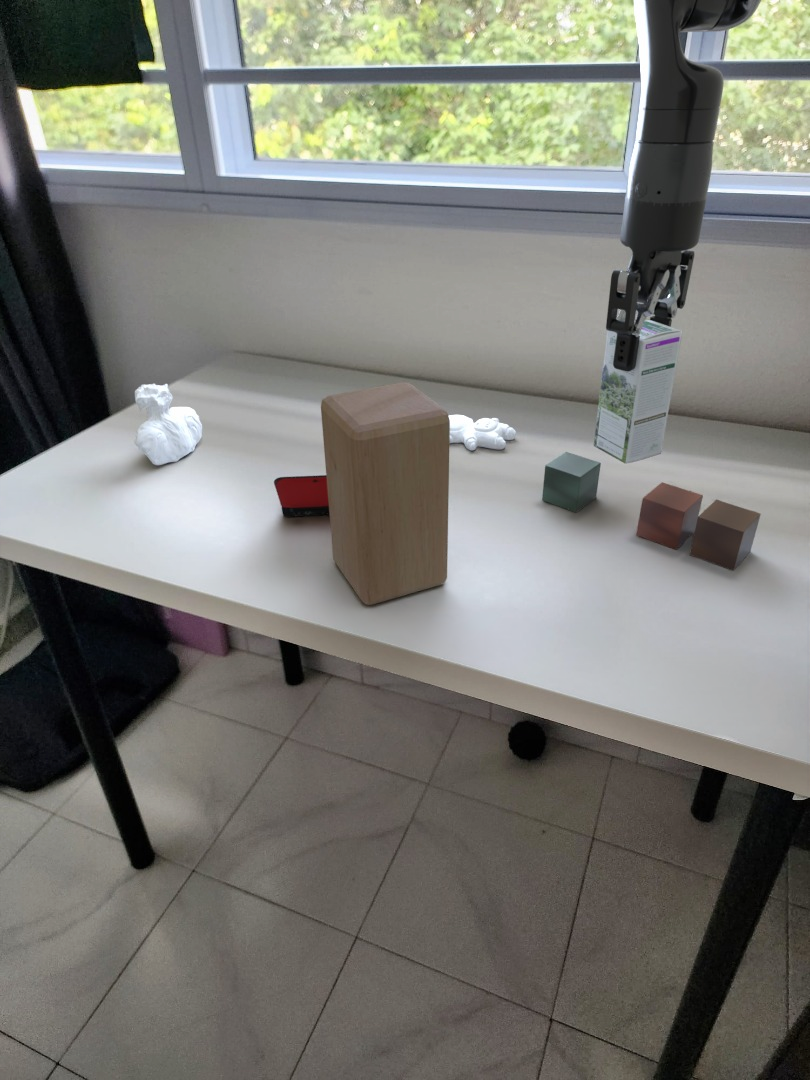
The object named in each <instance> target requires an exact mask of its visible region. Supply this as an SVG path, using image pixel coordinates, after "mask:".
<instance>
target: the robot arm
mask: <svg viewBox="0 0 810 1080" xmlns="http://www.w3.org/2000/svg"><path fill="white" fill-rule="evenodd" d="M761 2H762V0H633V8H634V17H635V23H636V31H637V38H638V47H639V61H640V81H641V82H640V83H641V86H640V87H641V89H640V90H641V91H640V101H639V111H638V120H637V125H636V132H635V133H636V134H635V141H634V147H633V150H632V155H631V159H630V163H629V166H628V167H629V168H628V172H627V173H628V174H627V181H626V189H625V195H624V196H625V197H624V205H623V213H622V220H621V227H620V228H621V229H620V235H619V241H620V243H621V245H623V246H624V247H627V248H629V249H630V250H631V251H632V253H631V257H630V261H629V263H628V266H627V269H626V270H620V269H614V270H613V271H612V273H611V276H610V285H609V295H608V303H607V304H608V305H607V314H606V322H605V329H606V331H607V330H608V331H613V332H615V333H617V339H616V346H615V353H614V361H613V366H614V368H616V369H619V370H623V371H627V372H629V371H631V370H633V369H634V368H635V366H636V359H637V352H638V346H639V339H640V336H639V335H640V332H641V330H642V327H643V324H644V322H645V319H647V317H649V320H652V321H655V322H658V323H661V324H664V325H667V326H669V327H672V323H673V319H674V318H675V317H677V314H678V309H680V310H681V309H683V308H684V307H685V304H686V300H687V296H688V295H687V294H688V290H689V285H690V278H691V275H692V270H693V265H694V259H695V251H693V250H691V249H693V248H695V247H696V246H697V245H698V243H699V242H700V236H701V231H702V225H703V219H704V214H705V208H706V203H707V197H708V192H709V186H710V182H711V177H712V176H711V175H712V168H713V153H714V144H715V143H714V141H715V138H716V137H715V136H716V132H717V126H718V120H719V116H720V110H721V104H722V98H723V93H724V82H725V79H724V75H723V73H722V72H721V70H719V69H718V68H717V67H714V66H711V65H708V64H704V63H701V62H695V61H693V60H691V59H688V58H687V57H686V56H685V54H684V51H683V48H682V44H681V39H680V33H709V32H710V33H712V32H713V33H714V32H715V33H717V32H725V31H729V30H731V29H734V28H737V27H739V26H741V25H742V24H745V22H747V21H748V20H749V19H751V17H752V16H753V15H754V14H755V12H756V11H757V9H758V7H759V6H760V4H761ZM618 310H619V312H618ZM635 319H636V320H635ZM634 322H635V323H634Z"/></svg>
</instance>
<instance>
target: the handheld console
mask: <svg viewBox="0 0 810 1080" xmlns="http://www.w3.org/2000/svg"><path fill="white" fill-rule="evenodd" d="M273 484H274V485H273V486H274V487H275V492H276V495H277V496H278V501H279V503H280V506H281V513H282V515H283V517H285V518H286V517H287V518H295V517H310V516H311V517H312V516H326V515H330V514H329V501H328V489H327V477H326V474H321V475H319V474H318V475H301V476H300V475H297V476H296V475H295V476H280V477H276V478H275V479H274V481H273Z"/></svg>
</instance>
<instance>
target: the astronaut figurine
mask: <svg viewBox="0 0 810 1080" xmlns="http://www.w3.org/2000/svg"><path fill="white" fill-rule="evenodd" d="M448 416H449V419H450V442H449V445H450V444H459V443H463V444H464V446H465V448H466V449H467V450H469V451H475V450H476V449H477V448H478V447H480V448H487V449H491V450H503V449H504V448H505V447H506V444H507V443H506V440H507V441H513V440H515V439H516V436H517V431H516V430H515V429H514V427H510V425H509V424H507V423H502V422H500V419H499V418H497V417H492V418H488V417H483V418H480V419H478V420H476V421H475V422H474V420H473V418H470V417H469V416H466V415H463V414H451V415H450V414H449V415H448Z"/></svg>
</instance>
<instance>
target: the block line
mask: <svg viewBox="0 0 810 1080" xmlns="http://www.w3.org/2000/svg"><path fill="white" fill-rule="evenodd" d="M601 465H602V463H601V462H600V461H596V460H593V459H590V458H586V457H584V456H581V455H578V454H575V453H572V452H569V451H565V452H563V453H562V454H560V455H558V456H557V457H556V458H554V459H552V460H551V461H549V462H548V463H546V464H545V466H544V475H543V485H542V486H543V487H542V495H541V496H542V497H541V500H542V501H544V502H546V503H549V504H552V505H554V506H557V507H560V508H562V509H565V510H567V511H571V512H574V513H578V512H579V511H580V510H582V509H583V508H584V507H586V506H587V505H588V504H590V503H591V502H592V501H594V500H595V499H596V498H597V494H598V487H599V481H600V480H599V479H600V472H601ZM703 495H704V494H701V493H696V492H694V491H691V490H688V489H685V488H681V487H679V486H675V485H673V484H669V483H667V482H663V481H662V482H660V483H659V484H658V485H656V487H654V488H653V489H652V490H651V491H649V492H648V493H647V494H646V495H645V496H643V497H642V500H641V506H640V513H639V516H638V523H637V528H636V533H635V535H636V536H637V537H641V538H643V539H646V540H649V541H652V542H654V543H658V544H660V545H661V546H665V547H667V548H671V549H672V550H676V551H677V550H679V548H680V547H681V546H682V545H683V544H684V543H685V542H687V540H688V539H689V538H690V537H691V536H692V541H691V545H690V551H689V555H690V556H692V557H695V558H697V559H700V560H703V561H706V562H708V563H711V564H713V565H716V566H719V567H721V568H725V569H728V570H731V571H735V570H736V569H737V568H738V566H739V565H740V564H741V563H742V562H743V561H744V559H745V558H746V557H747V556H748V555H749V554H750V553H751V551H752V547H753V544H754V541H755V537H756V532H757V529H758V525H759V521H760V518H761V516H762V515H761V514H762V513H760V512H756V511H754V510H751V509H747V508H744V507H742V506H738V505H734V504H732V503H728V502H725V501H722V500H719V499H715V500H714V501H713V502H712V503H710V505H708V506H707V508H706V509H704V510H703V511H702V512H701V513H700V511H701V506H702V502H703V497H704V496H703Z"/></svg>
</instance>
